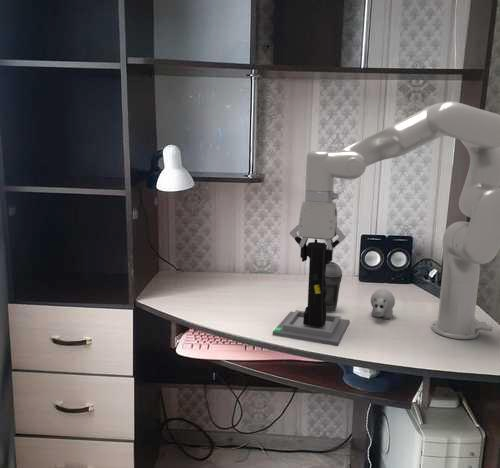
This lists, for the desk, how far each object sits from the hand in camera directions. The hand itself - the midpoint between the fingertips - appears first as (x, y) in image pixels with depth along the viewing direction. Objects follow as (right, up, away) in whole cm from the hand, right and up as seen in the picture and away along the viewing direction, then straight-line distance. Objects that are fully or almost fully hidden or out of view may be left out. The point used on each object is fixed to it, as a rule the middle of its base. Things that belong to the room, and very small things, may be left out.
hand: (316, 261), depth 137 cm
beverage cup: (+7, -17, +20) cm, 27 cm away
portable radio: (0, -18, +3) cm, 18 cm away
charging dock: (-1, -20, +4) cm, 20 cm away
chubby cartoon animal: (+21, -18, +14) cm, 31 cm away
